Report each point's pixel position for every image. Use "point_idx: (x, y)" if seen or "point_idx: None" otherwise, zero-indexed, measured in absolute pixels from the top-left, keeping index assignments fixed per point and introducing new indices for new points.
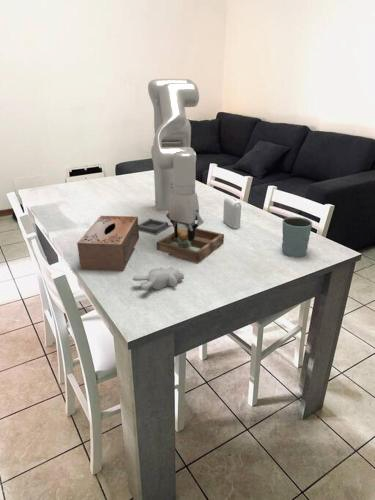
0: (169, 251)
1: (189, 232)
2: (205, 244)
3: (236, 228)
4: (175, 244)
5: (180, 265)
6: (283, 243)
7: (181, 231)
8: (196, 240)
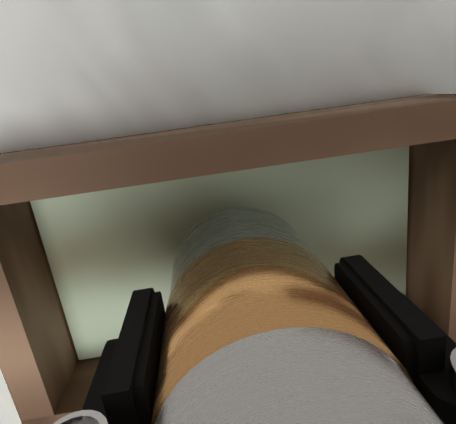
0: (305, 114)
1: (113, 371)
2: None
3: None
4: None
5: (80, 15)
6: None
7: (249, 310)
8: None
